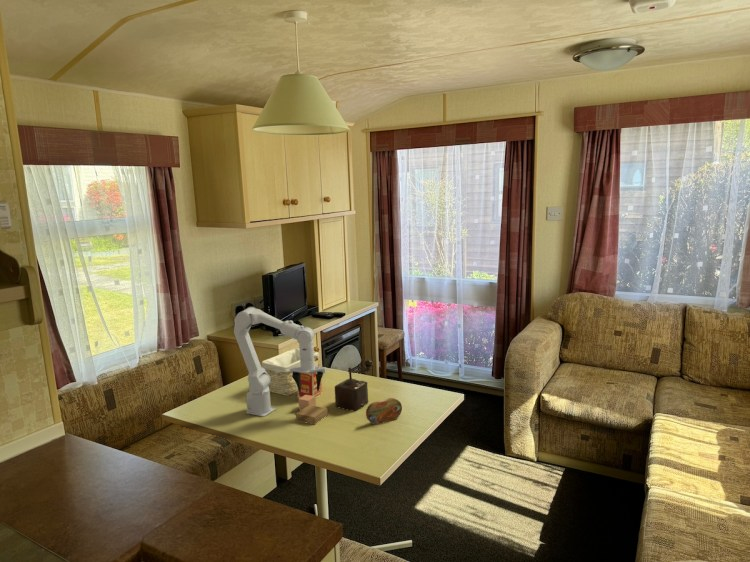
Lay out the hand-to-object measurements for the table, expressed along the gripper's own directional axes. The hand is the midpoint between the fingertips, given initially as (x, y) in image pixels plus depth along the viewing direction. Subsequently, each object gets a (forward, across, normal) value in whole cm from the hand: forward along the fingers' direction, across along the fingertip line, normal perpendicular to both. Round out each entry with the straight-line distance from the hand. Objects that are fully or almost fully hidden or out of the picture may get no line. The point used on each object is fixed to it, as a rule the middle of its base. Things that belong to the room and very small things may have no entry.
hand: (309, 389), depth 211 cm
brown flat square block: (+10, +2, -5) cm, 11 cm away
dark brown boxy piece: (+10, +18, +10) cm, 23 cm away
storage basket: (+11, -15, +31) cm, 36 cm away
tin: (+10, +31, -7) cm, 33 cm away
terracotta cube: (+10, -2, +5) cm, 11 cm away
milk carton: (+10, -4, +19) cm, 22 cm away
